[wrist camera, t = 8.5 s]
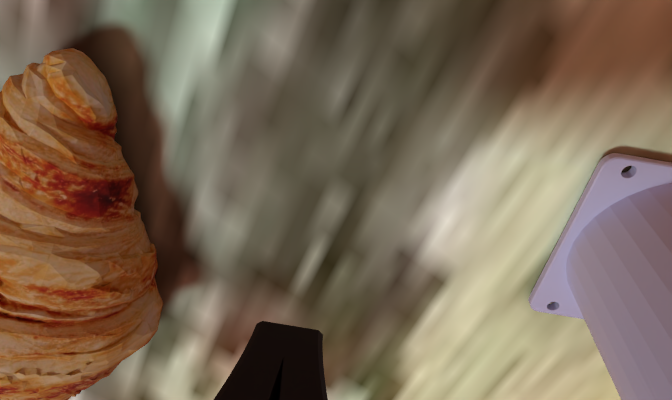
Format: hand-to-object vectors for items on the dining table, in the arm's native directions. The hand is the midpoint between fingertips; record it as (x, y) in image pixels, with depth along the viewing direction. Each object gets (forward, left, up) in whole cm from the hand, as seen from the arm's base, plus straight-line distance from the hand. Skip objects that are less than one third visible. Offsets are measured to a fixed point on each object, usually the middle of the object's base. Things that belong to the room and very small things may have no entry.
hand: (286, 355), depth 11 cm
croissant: (+11, +8, -10) cm, 17 cm away
